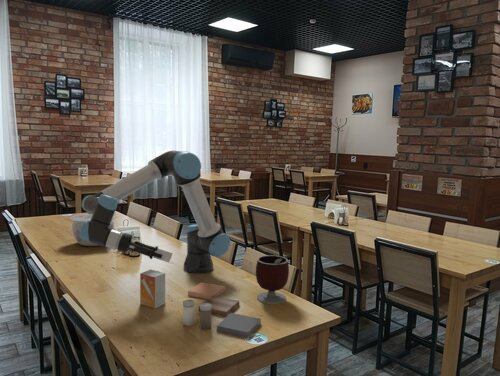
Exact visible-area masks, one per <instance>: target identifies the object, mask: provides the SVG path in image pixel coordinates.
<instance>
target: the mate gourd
mask: <svg viewBox="0 0 500 376" xmlns="http://www.w3.org/2000/svg"><path fill="white" fill-rule="evenodd" d="M289 275H290V266H289V259H288V258H287V257H284V256H280V255H272V254H270V255H269V254H267V255H261V256H258V258H257V261H256V266H255V279H256V282H257V284H258V285H259V287H260V288H261V289H263V290H266V291H263V292H261V293H259V294H257V296H256V300H257V301H258V302H260V303H262V304H265V305H280V304H283V303H284V302H286V301H287V297H286V295H285V294H283V293H280V292H278V291H280V290H282V289H284V287H285V286H286V285H287V284H288V280H289ZM276 291H277V292H276Z"/></svg>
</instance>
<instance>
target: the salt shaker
mask: <svg viewBox="0 0 500 376" xmlns="http://www.w3.org/2000/svg"><path fill="white" fill-rule="evenodd" d="M195 305H196V304H195V300H193V299H185V300H183V301H182V325H183V326H186V327H190V326H191V327H192V326H194V324H195Z"/></svg>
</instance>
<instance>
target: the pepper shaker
mask: <svg viewBox="0 0 500 376" xmlns="http://www.w3.org/2000/svg"><path fill="white" fill-rule="evenodd" d="M199 306H200V311H199V328H200V329H201V330H204V331H207V330H210V329H211V328H212V314H211V309H212V305H211V304H210V303H204V302H203V303H200V305H199Z"/></svg>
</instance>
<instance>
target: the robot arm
mask: <svg viewBox="0 0 500 376" xmlns="http://www.w3.org/2000/svg"><path fill="white" fill-rule="evenodd" d="M201 169H202V162H201V160H200V158H199V157H198V156H197V155H196V154H195V153H192V152H190V151H186V150H185V151H184V150H183V151H179V150H168V151H166V152H164V153H162V154H160V155H158V156H156V157H154V158H152V159H151V160H149V161H148V162H147V165H145V166H143V167H141V168H140V169H138V170H136V171H134V172H133V173H131V174H129V175H126V177H123V178H121V179H120V180H118V181H117V182H115V183H113V184H111V185H109V186H108V187H106V188H104V189H102V190H101V191H99V192H97V193H95V194H93V195H92V194H89V195H87V196H85V197H83V199H82V201H81V207H82V209H83V210H84V211H85V213H89V214H92V215H93V216H92V218H91V220H90V221H85V222H84V223H83V225H82V227H81V229H80V233H79V236H80V238H81V239H83V240H86V241H89V242H91V243H94V244H98V245H99V246H101V247H104V248H107V249H108V250H111V249H112V250H115V251H116V250H117V251H118V252H120V253H124V254H126V253H128V250H129V251H131V252H134V253H139V254H141V255H143V256H147V257H148V258H149V259H151V260H153V259H156V260H160V261H162V262H166V263H170V261H171V259H172V256H173V252H170V251H167V250H164V249H160V248H159V246H151V245H148V244H145V243H143V242H140V241H137V240H136V241H132V240H133V235H132V234H129V233H127V232H123V231H120V230H118V229H115V228H114V229H111V228H109V226H110V223H111V220H112V218H113V215H115V213H116V210H117V207H118V203H119V201H122V200H123V199H125V198H126V197H128V196H130V195H132V194H133V193H135V192H136V191H139V189H142V188H144V187H145V186H147V185H149V184H151V183H152V182H154V181H155V180H162V179H163V178H166V177H169V176H172V177H173V179H174V180H175V183H176V186H179V187H181V189H182V192H183V194H184V197H185V199H186V201H187V203H188V204H187V205H189V206H188V207H189V209H190V212H191V213H192V215H193V216H192V217H193V218H194V220H195V222H196V224H190V225H188V226H187V232H186V237H187V238H186V240H187V241H186V245H187V246H186V247H187V249H186V250H187V251H186V257H185V260H184V262H183V270H184V271H186V272H188V273H193V274H196V273H197V274H202V273H208V272H211V271H213V270H214V263H213V259H212V257H217V258H219V257H222V256H224V255H225V254H227V253H228V251H229V248H230V246H231V239H230V237H229V235H228V234H227V233H225V232H224V231H223V229H222V226H221V224H220V223H218V222H216V219H215V217H214V214H213V212H212V210H211V208H210V205H209V202H208V199H207V197H206V194H205V191H204V188H203V186H202V184H201V182H200V179H201V177H202V175H201ZM112 221H113V220H112Z"/></svg>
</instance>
